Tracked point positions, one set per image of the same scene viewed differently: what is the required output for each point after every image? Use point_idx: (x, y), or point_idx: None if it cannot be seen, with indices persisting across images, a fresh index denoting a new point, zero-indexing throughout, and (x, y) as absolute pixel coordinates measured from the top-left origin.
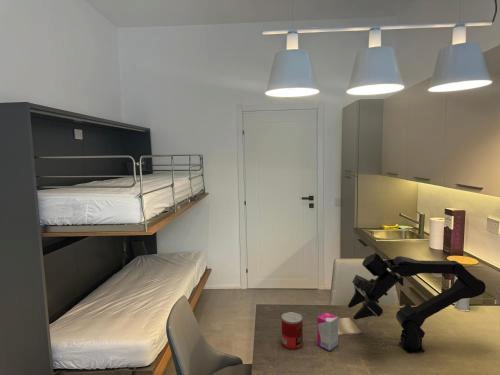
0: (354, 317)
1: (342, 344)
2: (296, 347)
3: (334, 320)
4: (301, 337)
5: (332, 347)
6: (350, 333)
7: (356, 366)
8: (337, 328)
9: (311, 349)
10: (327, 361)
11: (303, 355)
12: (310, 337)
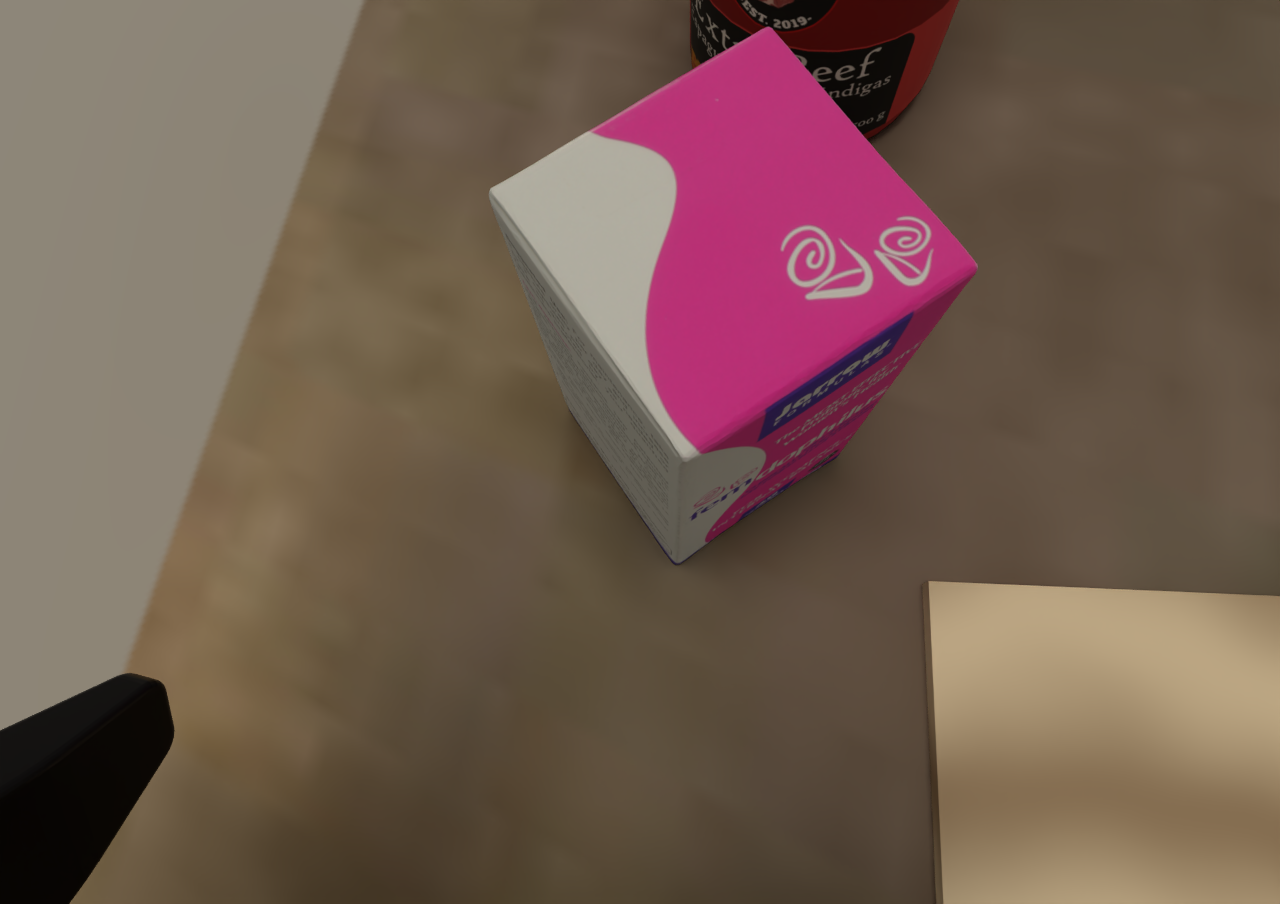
0: (93, 703)
1: (694, 639)
2: (692, 58)
3: (582, 334)
4: (730, 43)
5: (594, 445)
6: (941, 896)
7: (222, 603)
8: (661, 495)
9: None
10: (405, 320)
11: (573, 119)
12: None
